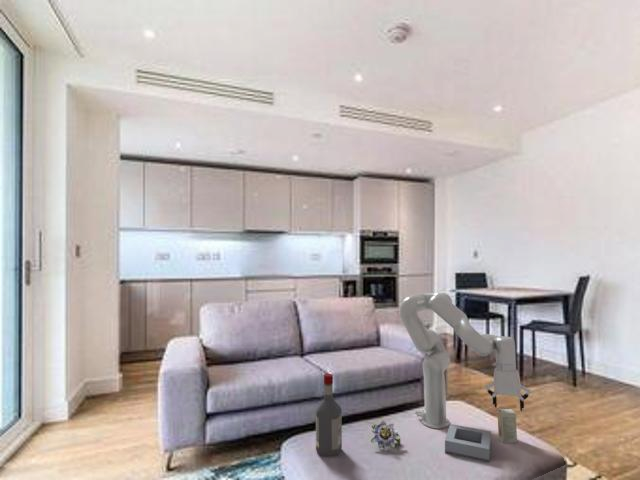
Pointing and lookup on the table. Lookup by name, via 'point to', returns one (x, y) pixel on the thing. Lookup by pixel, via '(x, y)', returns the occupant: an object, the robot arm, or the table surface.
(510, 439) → the skincare box
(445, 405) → the robot arm
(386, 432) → the passion flower
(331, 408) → the liquor
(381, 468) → the table surface
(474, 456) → the socket block
